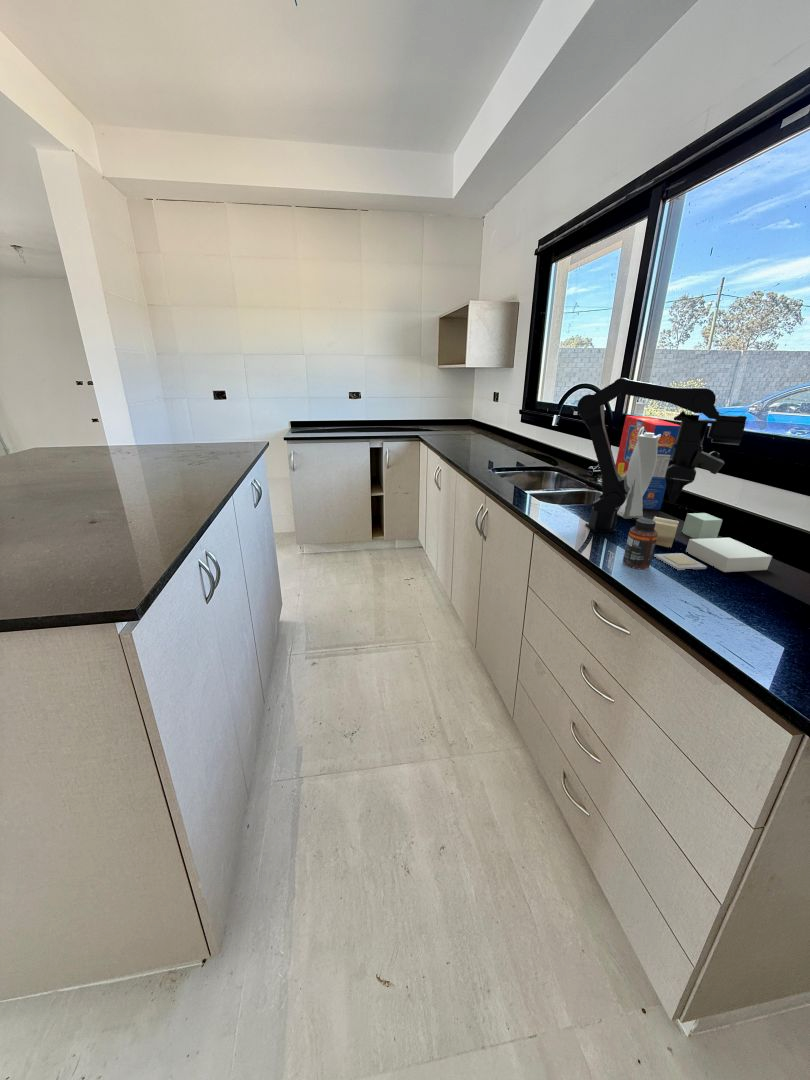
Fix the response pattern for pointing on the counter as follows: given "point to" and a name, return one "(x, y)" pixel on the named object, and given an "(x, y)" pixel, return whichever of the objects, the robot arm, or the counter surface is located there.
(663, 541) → the maple cube
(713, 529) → the sage cube
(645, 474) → the skyscraper
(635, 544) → the supplement bottle
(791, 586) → the counter surface
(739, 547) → the cream block
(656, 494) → the red and blue box
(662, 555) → the tile
